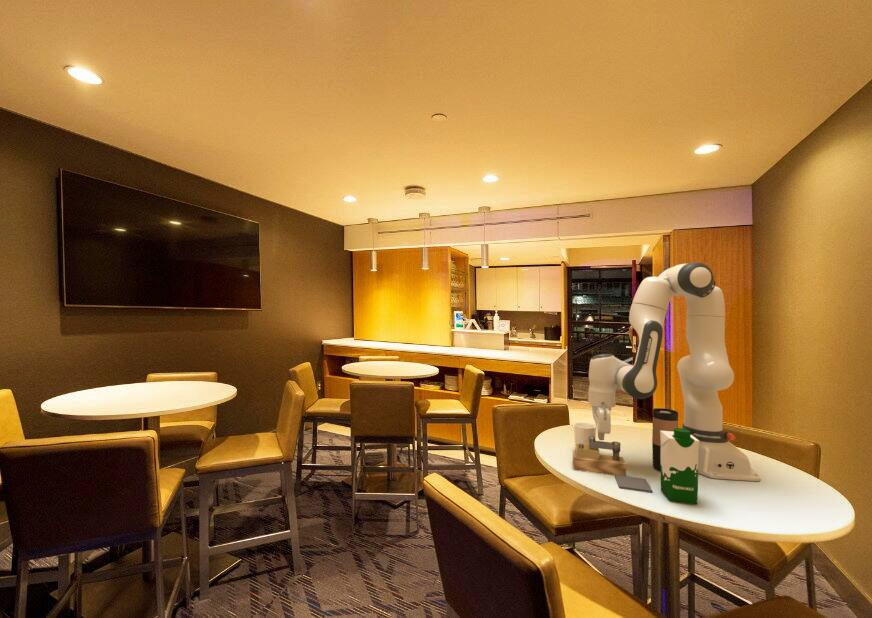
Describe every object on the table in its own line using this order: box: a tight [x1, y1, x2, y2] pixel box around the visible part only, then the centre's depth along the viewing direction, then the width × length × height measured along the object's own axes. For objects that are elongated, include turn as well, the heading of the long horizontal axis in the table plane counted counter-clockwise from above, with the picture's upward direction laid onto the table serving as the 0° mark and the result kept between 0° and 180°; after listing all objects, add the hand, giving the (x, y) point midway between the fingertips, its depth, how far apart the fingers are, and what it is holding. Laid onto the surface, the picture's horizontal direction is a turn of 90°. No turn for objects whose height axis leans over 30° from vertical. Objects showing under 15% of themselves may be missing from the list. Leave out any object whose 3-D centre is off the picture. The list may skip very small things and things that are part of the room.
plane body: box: [572, 450, 627, 476], centre depth 129 cm, size 16×7×7 cm, turn 73°
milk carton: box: [659, 427, 699, 506], centre depth 110 cm, size 9×9×20 cm
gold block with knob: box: [575, 443, 600, 460], centre depth 131 cm, size 7×5×4 cm
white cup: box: [573, 422, 597, 451], centre depth 147 cm, size 8×8×10 cm
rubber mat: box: [614, 475, 654, 494], centre depth 118 cm, size 9×9×1 cm
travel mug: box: [651, 407, 679, 472], centre depth 131 cm, size 8×8×20 cm
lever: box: [589, 437, 622, 453], centre depth 129 cm, size 10×3×4 cm, turn 73°
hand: (600, 439), depth 135 cm, fingers closed
